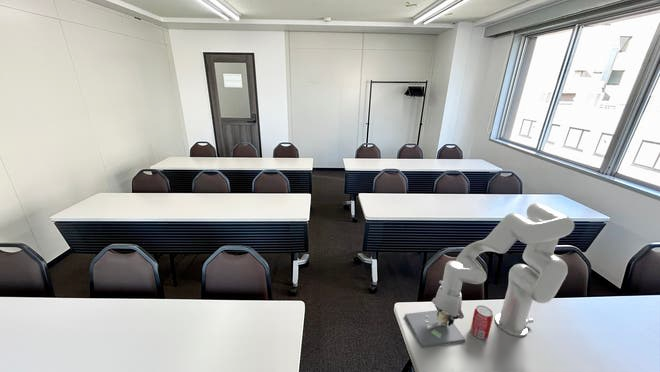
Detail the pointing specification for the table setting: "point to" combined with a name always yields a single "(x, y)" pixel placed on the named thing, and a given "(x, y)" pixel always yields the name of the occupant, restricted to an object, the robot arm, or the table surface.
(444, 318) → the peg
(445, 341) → the grey flat slab
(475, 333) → the soda can
